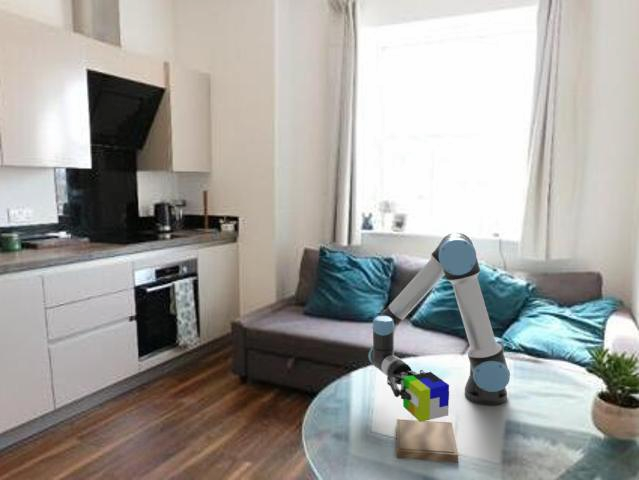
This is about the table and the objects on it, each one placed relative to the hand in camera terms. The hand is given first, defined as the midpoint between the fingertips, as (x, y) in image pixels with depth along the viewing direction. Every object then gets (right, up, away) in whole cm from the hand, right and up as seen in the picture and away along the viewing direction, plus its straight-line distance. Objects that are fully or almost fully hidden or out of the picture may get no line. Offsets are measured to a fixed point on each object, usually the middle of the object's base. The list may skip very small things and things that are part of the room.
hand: (433, 398), depth 145 cm
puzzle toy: (-1, -6, +5) cm, 7 cm away
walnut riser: (-1, -16, +7) cm, 17 cm away
